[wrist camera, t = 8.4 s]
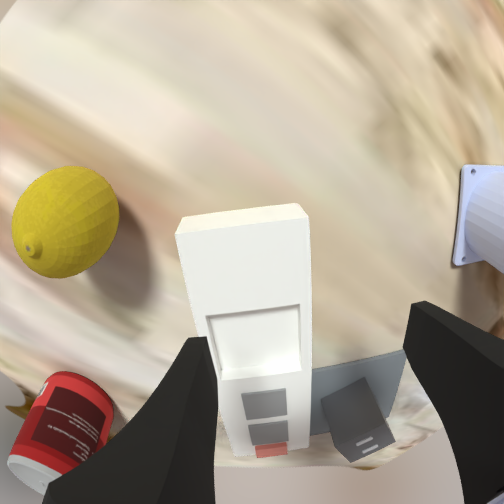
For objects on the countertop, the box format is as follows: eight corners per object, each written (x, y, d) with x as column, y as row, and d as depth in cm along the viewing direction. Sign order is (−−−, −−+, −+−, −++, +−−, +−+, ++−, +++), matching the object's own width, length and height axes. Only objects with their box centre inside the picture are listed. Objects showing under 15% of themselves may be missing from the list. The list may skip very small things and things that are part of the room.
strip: (182, 217, 19) (173, 237, 16) (297, 202, 19) (311, 220, 16) (237, 446, 29) (239, 473, 26) (303, 438, 29) (308, 464, 26)
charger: (364, 376, 25) (386, 423, 20) (376, 399, 27) (396, 442, 21) (320, 398, 26) (335, 447, 20) (336, 418, 27) (350, 463, 22)
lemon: (153, 200, 18) (106, 252, 11) (101, 257, 19) (47, 326, 12) (93, 138, 16) (16, 155, 9) (47, 201, 18) (-28, 246, 10)
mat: (406, 348, 25) (407, 351, 24) (387, 414, 29) (388, 416, 28) (297, 371, 24) (298, 375, 24) (298, 434, 28) (299, 437, 28)
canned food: (61, 414, 26) (32, 492, 16) (36, 362, 23) (-11, 448, 13) (123, 426, 27) (103, 515, 17) (104, 374, 24) (68, 479, 14)
